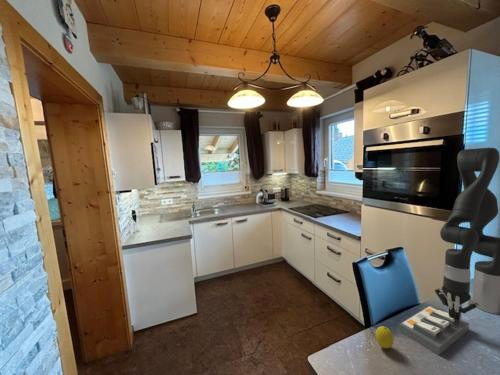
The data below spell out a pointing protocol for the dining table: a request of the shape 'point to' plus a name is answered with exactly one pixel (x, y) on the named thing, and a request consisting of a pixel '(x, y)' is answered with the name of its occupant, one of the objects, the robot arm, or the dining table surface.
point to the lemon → (384, 337)
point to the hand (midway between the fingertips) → (454, 318)
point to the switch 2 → (444, 314)
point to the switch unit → (428, 338)
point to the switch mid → (438, 321)
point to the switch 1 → (429, 327)
